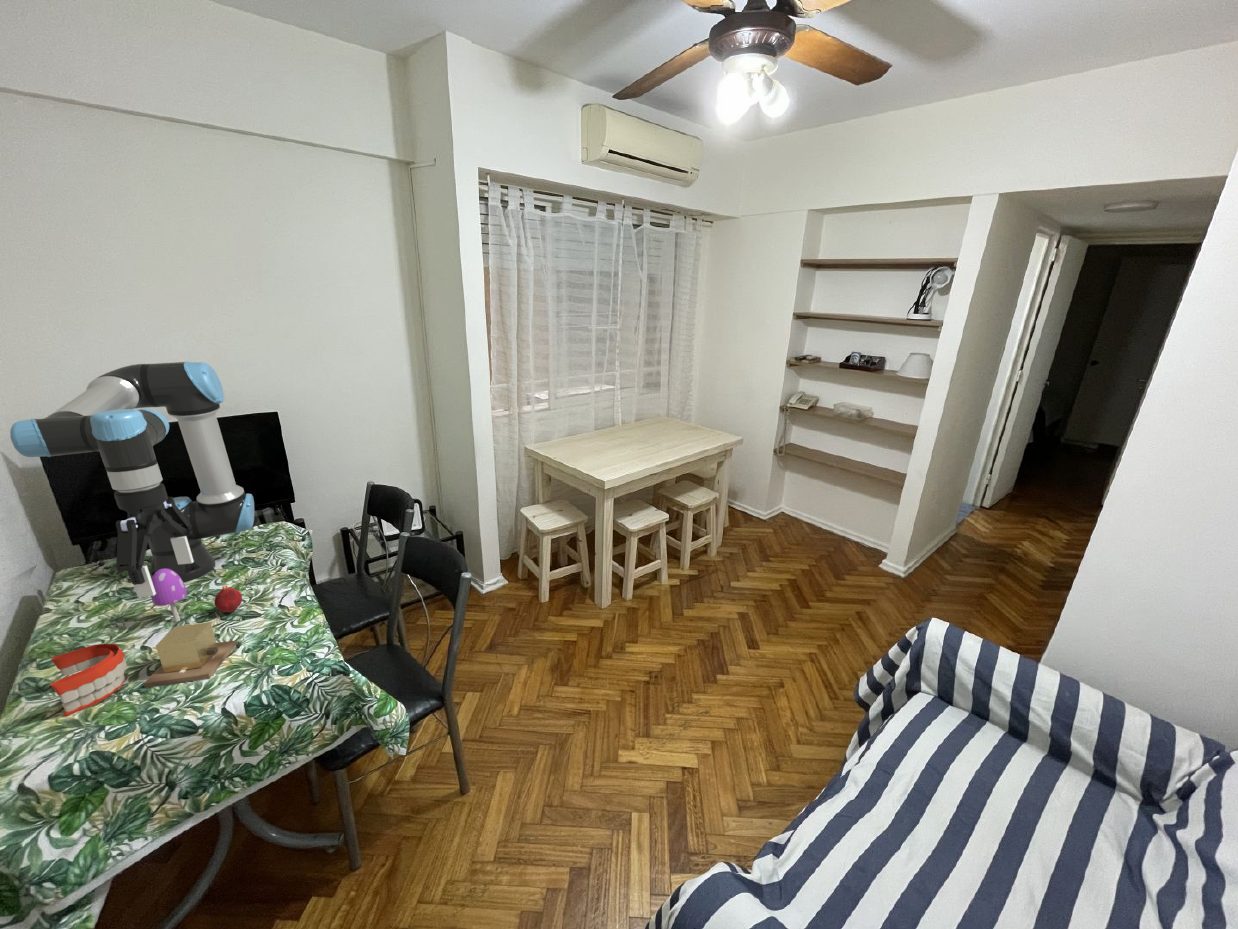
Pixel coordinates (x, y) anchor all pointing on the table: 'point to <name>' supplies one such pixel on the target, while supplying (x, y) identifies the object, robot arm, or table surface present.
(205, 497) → the robot arm
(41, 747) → the table surface
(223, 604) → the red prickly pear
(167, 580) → the toy
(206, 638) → the block with peg
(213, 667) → the flat board
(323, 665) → the table surface
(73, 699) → the toy
